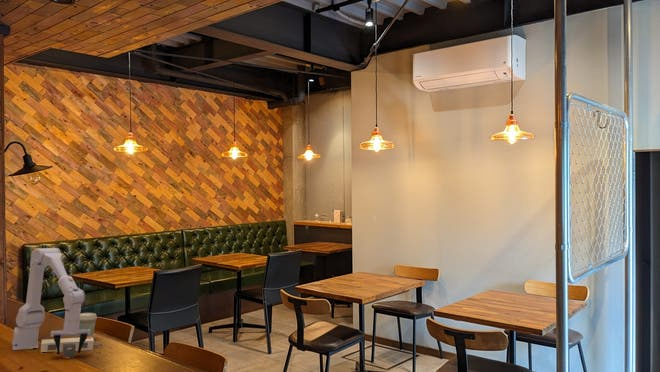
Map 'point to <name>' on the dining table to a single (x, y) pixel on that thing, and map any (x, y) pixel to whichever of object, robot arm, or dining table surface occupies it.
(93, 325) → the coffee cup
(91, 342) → the power strip
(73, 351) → the charger
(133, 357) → the dining table surface
